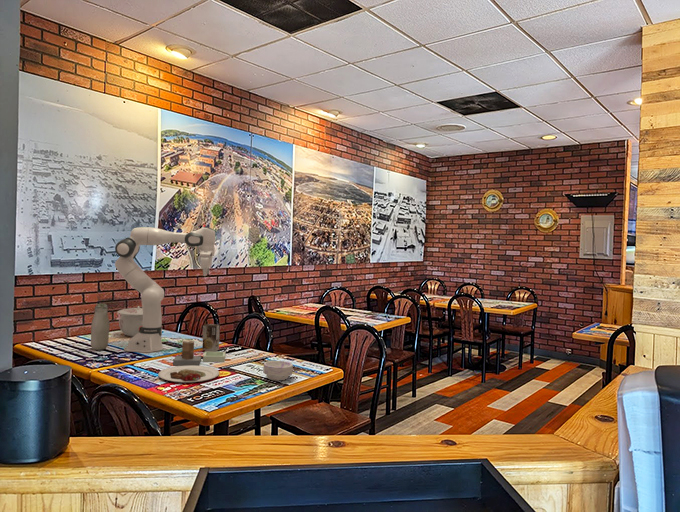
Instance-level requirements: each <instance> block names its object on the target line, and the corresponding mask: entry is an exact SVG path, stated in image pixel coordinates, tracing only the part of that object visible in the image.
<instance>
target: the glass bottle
mask: <svg viewBox="0 0 680 512" xmlns="http://www.w3.org/2000/svg"><path fill="white" fill-rule="evenodd" d="M108 310H109V308H108V305H107V304H106V303H97V304H96V305H95V306H94V314H93V317H92V320H91V328H90V347H91V348H92V349H93V350H96V351H103V350H105V349H106V348H107V347H108V346H109V342H110V341H109V339H110V338H109V337H110V327H111V326H110V319H109V315H108V312H109V311H108Z"/></svg>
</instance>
